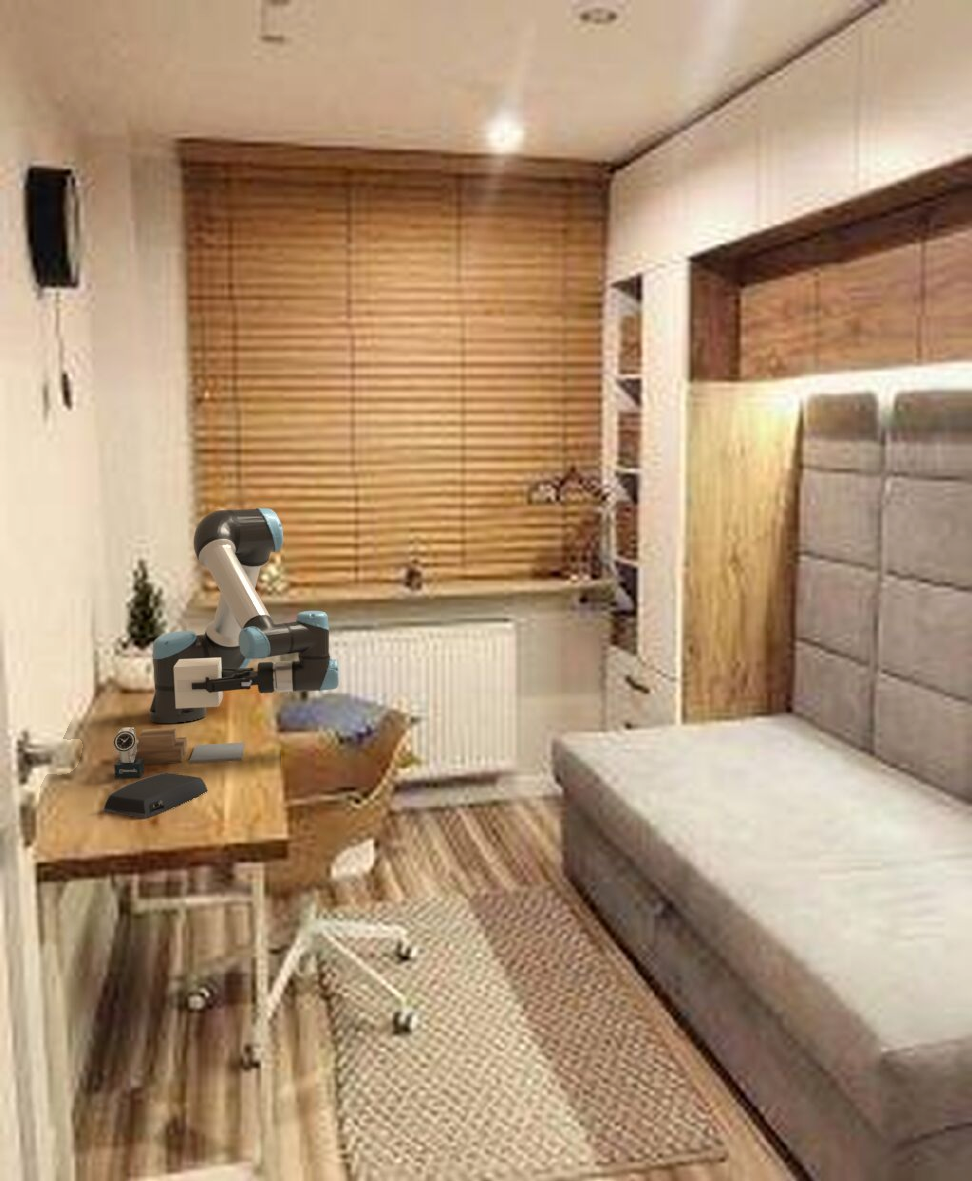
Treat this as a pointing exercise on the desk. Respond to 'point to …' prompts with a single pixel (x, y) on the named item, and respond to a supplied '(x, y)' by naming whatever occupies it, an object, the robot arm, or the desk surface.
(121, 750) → the watch
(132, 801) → the external hard drive
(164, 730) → the brown stepped block
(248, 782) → the desk surface
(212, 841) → the desk surface
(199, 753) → the mat
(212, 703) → the off-white rounded cube
